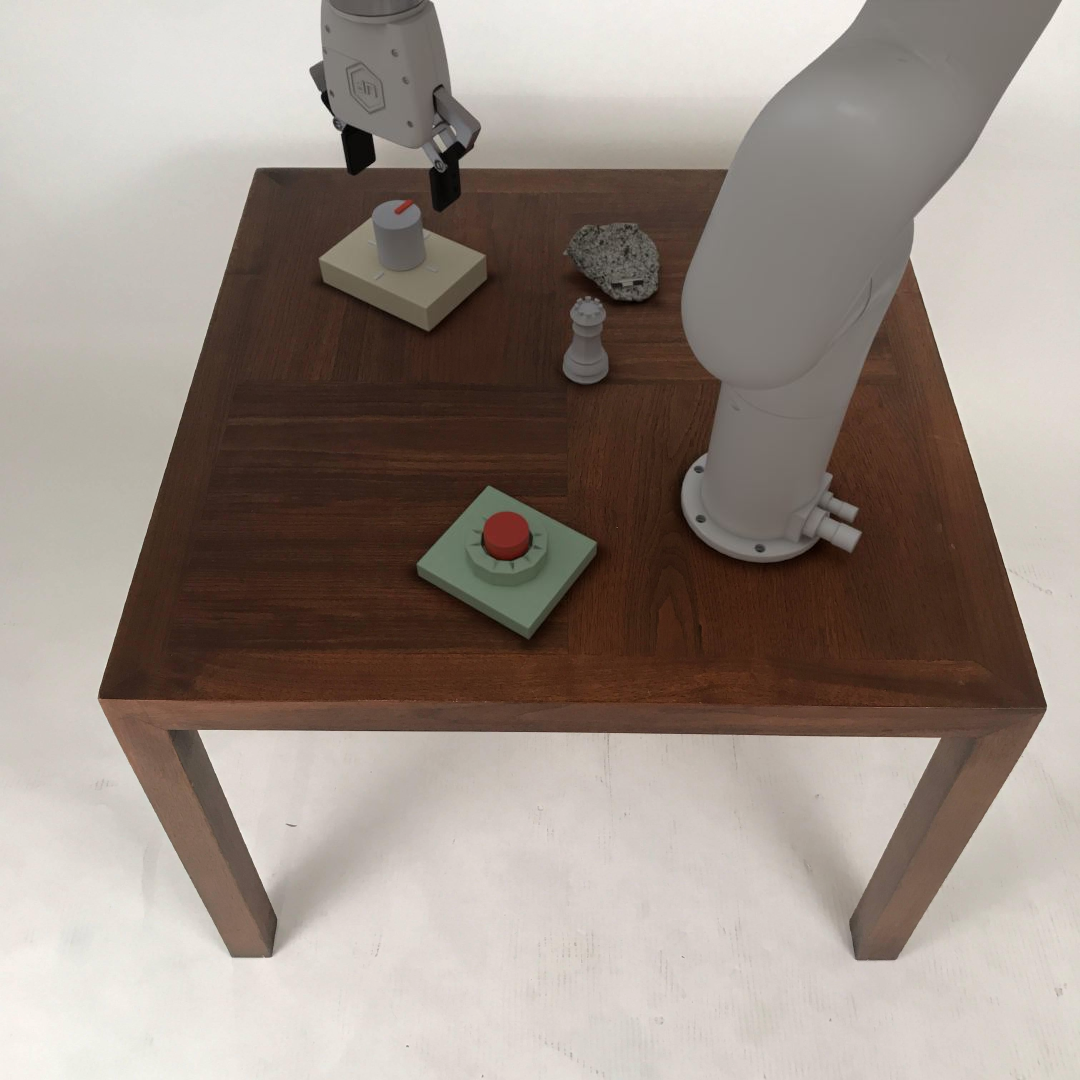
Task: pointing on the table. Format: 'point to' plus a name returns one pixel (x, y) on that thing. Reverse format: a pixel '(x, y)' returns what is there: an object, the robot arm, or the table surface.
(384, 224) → the knob
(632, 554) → the table surface
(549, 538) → the button block
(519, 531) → the button
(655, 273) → the rock sample
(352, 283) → the panel
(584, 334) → the rook chess piece
